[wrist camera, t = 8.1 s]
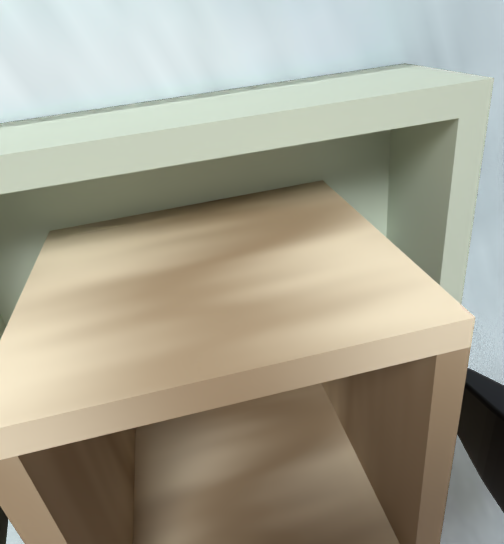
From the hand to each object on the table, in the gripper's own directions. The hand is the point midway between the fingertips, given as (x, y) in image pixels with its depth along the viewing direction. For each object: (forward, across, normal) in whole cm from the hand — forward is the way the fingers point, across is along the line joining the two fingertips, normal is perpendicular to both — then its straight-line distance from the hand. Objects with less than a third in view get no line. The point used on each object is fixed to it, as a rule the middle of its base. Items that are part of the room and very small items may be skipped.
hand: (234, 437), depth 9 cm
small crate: (+4, 0, 0) cm, 4 cm away
